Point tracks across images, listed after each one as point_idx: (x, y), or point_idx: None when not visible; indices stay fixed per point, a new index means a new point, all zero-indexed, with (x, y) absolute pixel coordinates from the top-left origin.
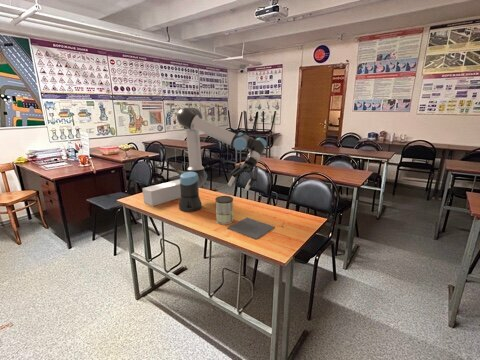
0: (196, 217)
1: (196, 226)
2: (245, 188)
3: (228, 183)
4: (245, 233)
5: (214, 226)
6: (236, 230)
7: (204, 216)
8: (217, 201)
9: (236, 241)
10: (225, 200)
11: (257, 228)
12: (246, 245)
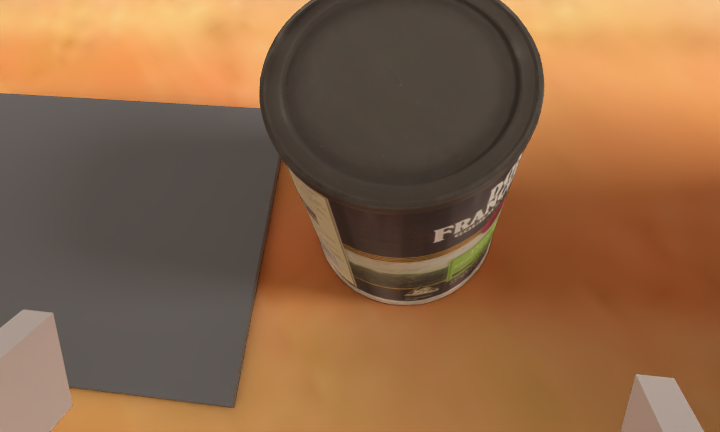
0: (693, 127)
1: (532, 8)
2: (32, 311)
3: (673, 403)
4: (101, 109)
5: None
6: (190, 110)
7: (651, 187)
8: None
9: (126, 9)
10: (341, 42)
11: (39, 237)
12: (44, 8)
